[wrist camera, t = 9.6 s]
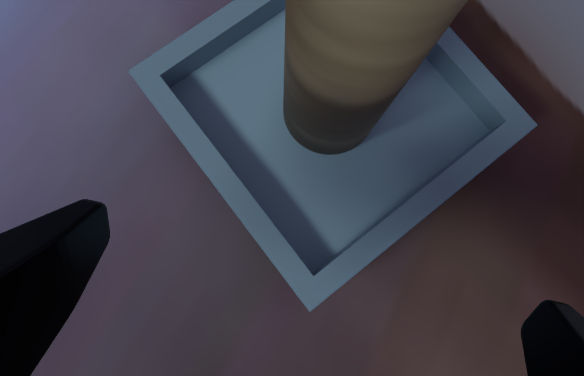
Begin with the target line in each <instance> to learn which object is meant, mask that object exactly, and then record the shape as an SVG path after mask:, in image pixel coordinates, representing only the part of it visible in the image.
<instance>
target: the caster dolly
mask: <svg viewBox="0 0 584 376" xmlns="http://www.w3.org/2000/svg"><path fill="white" fill-rule="evenodd" d="M285 7H286V0H234V1H232V2H231V3H229V4H228V5H226V6H225V7H223V8H222V9H220V10H219V11H217V12H216V13H214V14H213V15H211V16H210V17H208V18H207V19H205V20H204V21H202V22H201V23H199V24H198V25H196V26H195V27H193V28H192V29H190V30H189V31H187V32H186V33H184V34H183V35H181V36H180V37H178V38H177V39H175V40H174V41H172V42H171V43H169V44H168V45H166V46H165V47H163V48H162V49H160V50H159V51H157V52H156V53H154V54H153V55H151V56H150V57H148V58H147V59H145V60H144V61H142V62H141V63H139V64H138V65H136V66H135V67H133V68H132V69H130V70H129V71H128V72H129V73H130V75H131V76H132V77H133V79H134V80H135V81H136V83H137V84H138V85H139V87H140V88H141V89H142V91H143V92H144V93H145V95H146V96H147V97H148V99H149V100H150V101H151V103H152V104H153V105H154V107H155V108H156V109H157V110H158V112H159V113H160V114H161V116H162V117H163V118H164V120H165V121H166V122H167V124H168V125H169V126H170V128H171V129H172V130H173V132H174V133H175V134H176V136H177V137H178V138H179V140H180V141H181V142H182V144H183V145H184V146H185V148H186V149H187V150H188V152H189V153H190V154H191V156H192V157H193V158H194V160H195V161H196V162H197V163H198V165H199V166H200V167H201V169H202V170H203V171H204V173H205V174H206V175H207V177H208V178H209V179H210V181H211V182H212V183H213V185H214V186H215V187H216V189H217V190H218V191H219V193H220V194H221V195H222V197H223V198H224V199H225V201H226V202H227V203H228V205H229V206H230V207H231V209H232V210H233V211H234V213H235V214H236V215H237V216H238V218H239V219H240V220H241V222H242V223H243V224H244V226H245V227H246V228H247V230H248V231H249V232H250V234H251V235H252V236H253V238H254V239H255V240H256V242H257V243H258V244H259V246H260V247H261V248H262V250H263V251H264V252H265V254H266V255H267V256H268V258H269V259H270V260H271V262H272V263H273V264H274V265H275V267H276V268H277V269H278V271H279V272H280V273H281V275H282V276H283V277H284V279H285V280H286V281H287V283H288V284H289V285H290V287H291V288H292V289H293V291H294V292H295V293H296V295H297V296H298V297H299V299H300V300H301V301H302V303H303V304H304V305H305V307H306V308H307V309H308V311H309V312H310V311H312V310H313V309H314V308H315V307H316V306H318V305H319V304H320V303H321V302H323V301H324V300H325V299H326V298H327V297H329V296H330V295H331V294H332V293H334V292H335V291H336V290H337V289H338V288H340V287H341V286H342V285H343V284H344V283H346V282H347V281H348V280H349V279H351V278H352V277H353V276H354V275H355V274H357V273H358V272H359V271H360V270H362V269H363V268H364V267H365V266H366V265H368V264H369V263H370V262H371V261H373V260H374V259H375V258H376V257H377V256H379V255H380V254H381V253H382V252H384V251H385V250H386V249H387V248H388V247H390V246H391V245H392V244H393V243H395V242H396V241H397V240H398V239H399V238H401V237H402V236H403V235H404V234H406V233H407V232H408V231H409V230H410V229H412V228H413V227H414V226H415V225H417V224H418V223H419V222H420V221H421V220H423V219H424V218H425V217H426V216H428V215H429V214H430V213H431V212H432V211H434V210H435V209H436V208H437V207H439V206H440V205H441V204H442V203H443V202H445V201H446V200H447V199H448V198H450V197H451V196H452V195H453V194H454V193H456V192H457V191H458V190H459V189H461V188H462V187H463V186H464V185H465V184H467V183H468V182H469V181H470V180H472V179H473V178H474V177H475V176H476V175H478V174H479V173H480V172H481V171H483V170H484V169H485V168H486V167H487V166H489V165H490V164H491V163H492V162H493V161H495V160H496V159H497V158H498V157H500V156H501V155H502V154H503V153H504V152H506V151H507V150H508V149H509V148H511V147H512V146H513V145H514V144H515V143H517V142H518V141H519V140H520V139H522V138H523V137H524V136H525V135H526V134H528V133H529V132H530V131H531V130H533V129H534V128H535V127H536V126H537V124H536V123H535V121H534V120H533V119H532V118H531V117H530V116H529V115H528V114H527V113H526V111H525V110H524V109H523V108H522V107H521V106H520V105H519V104H518V103H517V101H516V100H515V99H514V98H513V97H512V96H511V95H510V94H509V92H508V91H507V90H506V89H505V88H504V87H503V86H502V85H501V84H500V82H499V81H498V80H497V79H496V78H495V77H494V76H493V75H492V74H491V72H490V71H489V70H488V69H487V68H486V67H485V66H484V65H483V64H482V62H481V61H480V60H479V59H478V58H477V57H476V56H475V55H474V54H473V52H472V51H471V50H470V49H469V48H468V47H467V46H466V45H465V44H464V42H463V41H462V40H461V39H460V38H459V37H458V36H457V35H456V34H455V32H454V31H453V30H452V29H451V28H450V27H448V28H447V30H446V31H445V32H444V34H443V35H442V36H441V38H440V39H439V40H438V42H437V43H436V44H435V46H434V47H433V48H432V50H431V51H430V52H429V54H428V55H427V56H426V58H425V59H424V60H423V62H422V63H421V64H420V66H419V67H418V68H417V70H416V71H415V72H414V74H413V75H412V76H411V78H410V79H409V80H408V82H407V83H406V84H405V86H404V87H403V88H402V90H401V91H400V92H399V94H398V95H397V97H396V98H395V99H394V101H393V102H392V103H391V105H390V106H389V107H388V109H387V110H386V111H385V113H384V114H383V115H382V117H381V118H380V119H379V121H378V122H377V123H376V125H375V126H374V127H373V129H372V130H371V131H370V133H369V134H368V135H367V137H366V138H365V139H364V140H363V141H362V142H361V143H360V144H359V145H358V146H356V147H355V148H353V149H352V150H350V151H347V152H345V153H341V154H335V155H325V154H319V153H315V152H313V151H310V150H308V149H306V148H305V147H303V146H302V145H300V144H299V143H298V142H297V141H296V140H295V139H294V138H293V137H292V135H291V134H290V132H289V131H288V129H287V126H286V124H285V120H284V115H283V94H284V50H285Z"/></svg>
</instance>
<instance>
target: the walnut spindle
mask: <svg viewBox="0 0 584 376" xmlns="http://www.w3.org/2000/svg"><path fill="white" fill-rule="evenodd" d="M467 2H468V0H286V7H285V50H284V94H283V115H284V120H285V124H286V126H287V129H288V131H289V132H290V134H291V135H292V137H293V138H294V139H295V140H296V141H297V142H298V143H299V144H300V145H302V146H303V147H305V148H306V149H308V150H310V151H313V152H315V153H319V154H325V155H335V154H341V153H345V152H347V151H350V150H352V149H353V148H355V147H356V146H358V145H359V144H360V143H361V142H362V141H363V140H364V139H365V138H366V137H367V135H368V134H369V133H370V131H371V130H372V129H373V127H374V126H375V125H376V123H377V122H378V121H379V119H380V118H381V117H382V115H383V114H384V113H385V111H386V110H387V109H388V107H389V106H390V105H391V103H392V102H393V101H394V99H395V98H396V97H397V95H398V94H399V92H400V91H401V90H402V88H403V87H404V86H405V84H406V83H407V82H408V80H409V79H410V78H411V76H412V75H413V74H414V72H415V71H416V70H417V68H418V67H419V66H420V64H421V63H422V62H423V60H424V59H425V58H426V56H427V55H428V54H429V52H430V51H431V50H432V48H433V47H434V46H435V44H436V43H437V42H438V40H439V39H440V38H441V36H442V35H443V34H444V32H445V31H446V30H447V28H448V27H449V26H450V24H451V23H452V22H453V20H454V19H455V18H456V16H457V15H458V14H459V12H460V11H461V10H462V8H463V7H464V6H465V4H466V3H467Z"/></svg>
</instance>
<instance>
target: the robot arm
mask: <svg viewBox="0 0 584 376" xmlns="http://www.w3.org/2000/svg"><path fill="white" fill-rule="evenodd" d="M109 238H110V228H109V221H108V214H107V208H106V206H105V204H103V203H102V202H97V201H93V200H88V199H82V200H79V201H77V202H74V203H72V204H70V205H67V206H65V207H63V208H60V209H58V210H55V211H53V212H51V213H48V214H46V215H43V216H41V217H39V218H36V219H34V220H31V221H29V222H27V223H24V224H22V225H20V226H17V227H15V228H12V229H10V230H8V231H5V232H3V233H0V376H30V375H31V374H32V372H33V371H34V369H35V368H36V366H37V365H38V363H39V362H40V360H41V359H42V357H43V356H44V354H45V353H46V351H47V350H48V348H49V347H50V345H51V343H52V342H53V340H54V339H55V337H56V336H57V334H58V333H59V331H60V330H61V328H62V327H63V325H64V324H65V322H66V321H67V319H68V318H69V316H70V314H71V313H72V311H73V310H74V308H75V306H76V304H77V302H78V301H79V299H80V297H81V295H82V293H83V291H84V289H85V287H86V285H87V283H88V281H89V279H90V278H91V276H92V274H93V272H94V270H95V268H96V266H97V264H98V262H99V260H100V258H101V256H102V254H103V252H104V250H105V248H106V246H107V244H108V242H109ZM521 338H522V344H523V350H524V356H525V362H526V368H527V374H528V376H584V317H583V316H581V315H580V314H579V313H578V312H577V311H576V310H575V309H573V308H572V307H571V306H570V305H568V304H565V303H561V302H556V301H552V300H545V301H543V302H541V303H540V304H539V305H538V306H537V308H536V309H535V310H534V311H533V312H532V313H531V314H530V316H529V317H528V318H527V319H526V320H525V321H524V323H523V325H522V328H521Z"/></svg>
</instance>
